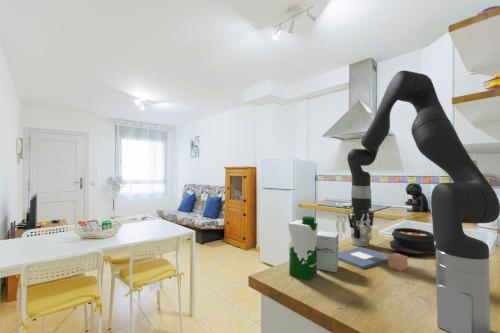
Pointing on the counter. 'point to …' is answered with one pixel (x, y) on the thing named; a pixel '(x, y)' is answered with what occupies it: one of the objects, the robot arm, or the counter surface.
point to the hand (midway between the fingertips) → (361, 237)
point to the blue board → (362, 257)
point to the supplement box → (327, 251)
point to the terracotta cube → (397, 261)
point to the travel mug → (359, 242)
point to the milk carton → (303, 248)
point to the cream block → (363, 233)
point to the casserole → (413, 241)
